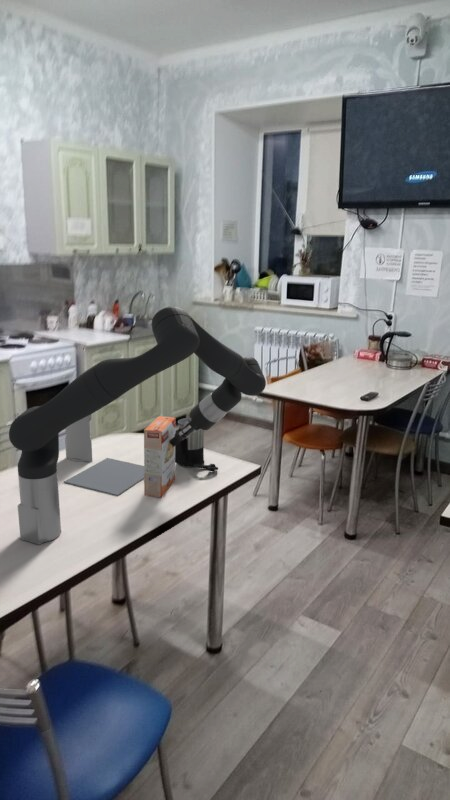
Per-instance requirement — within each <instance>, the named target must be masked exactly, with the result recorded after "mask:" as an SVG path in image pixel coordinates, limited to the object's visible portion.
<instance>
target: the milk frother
mask: <svg viewBox="0 0 450 800" xmlns="http://www.w3.org/2000/svg"><path fill="white" fill-rule="evenodd" d="M190 419H191V417H185V418H184V417H183V418H181V419H178V420H177V423H178V429H180V428H181V427H182V426H183V425H184V424H185V422H187V421H188V420H190ZM178 429H176V432H177V431H178ZM204 440H205V430H202V429H200V430H198V431H196V432H195V433H194V434H192V435H191V436H189V437H188V438H186V439H184V440H183V441H181V442H180V443H178V444H177V445H176V446H175V464H178V465H179V466H181V467H185V468H197V469H204V470H206V471H209V472H210V471H212V472H213V473H214V472H215V471H218V470H219V467H218V466H217V465H216V464H215V463H209V464H205V460H204V459H205V458H204V457H205V455H204V448H205V447H204V443H205V441H204Z"/></svg>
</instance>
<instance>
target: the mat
mask: <svg viewBox="0 0 450 800" xmlns="http://www.w3.org/2000/svg"><path fill="white" fill-rule="evenodd" d="M142 481H144V465H142V464H137V463H132V462H127V461H124V460H120V459H115V458H109V457H105V458H104V459H103V460H100V461H99V462H97V463H96V464H93V465H91V466H89V467H88V468H87V469H84V470H82V471H81V472H78V473H77V474H75V475H73V476H72V477H70V478H68V479H66V480H64V481H63V483H64V484H67V485H72V486H77V487H80V488H84V489H88V490H91V491H96V492H99V493H103V494H107V495H112V496H115V497H118V496H121V495H122V494H123V493H125V492H127V491H128V490H129V489H131V488H133V487H134V486H135V485H137V484H138V483H140V482H142Z"/></svg>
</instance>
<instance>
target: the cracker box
mask: <svg viewBox="0 0 450 800" xmlns="http://www.w3.org/2000/svg"><path fill="white" fill-rule="evenodd" d="M176 420H177V418H176V417H172V416H162V415H160V416H159V415H158V417H156V418H155V419H154V420H153V421H152V422H151V423H150V424H148V426H147V427H146V428H144V430H143V456H144V457H143V458H144V459H143V463H144V464H143V466H144V479H143V481H144V482H143V486H144V487H143V490H144V491H143V493H144V494H143V495H144V496H146V497H155V498H163V496H164V495H165V494H166V492H167V491H168V489H169V488H170V487H171V485H172V484H173V483H174V481H175V479H176V463H175V446H174V447H173V446H172V445H171V443H170V440H171V439H172V438H173V437H175V433H176V430H177V429H176V426H177V425H176V424H177V423H176Z"/></svg>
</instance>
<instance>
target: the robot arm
mask: <svg viewBox="0 0 450 800" xmlns="http://www.w3.org/2000/svg"><path fill="white" fill-rule="evenodd" d="M151 330H152V334H153V337H154V338H155V341H156V344H155V345H154V346H153V347H151V348H150V349H148V350H146V351H145V352H143V353H141V354H139V355H136V356H134V357H123V358H121V357H119V358H116V357H115V358H107V359H104V360H102V361H100V362H98V363H95V364H94V365H93V366H91V367H90V368H88V369H87V370H85V371H84V372H82V373H81V374H80V375H79V376H77V377H76V378H74V380H72V381H71V382H70V383H69V384H67V385H66V386H65V387H64V388H63V389H62V390H61V391H60V392H59V393H57V394H56V395H55V396H54V397H53V398H51V399H50V400H49V401H47V402H45V403H44V404H42V405H39V406H38V405H37V406H32V407H29V408H27V409H26V410H25V411H24V412H21V414H20V415H18V416H17V417H15V418H14V420H13V421H12V423H11V424H10V427H9V430H8V438H9V442H10V444H11V445H12V446H13V447H14V448H16V449H17V450H19V451H21V455H20V458H19V460H18V463H17V475H18V488H19V489H18V491H19V501H20V503H19V504H18V505H17V512H18V513H17V514H18V516H17V517H18V524H19V536H20V537H19V538H20V540H22V541H25V542H29V543H32V544H36V545H41V544H43V543H46V542H51V541H53V540H55V539H57V538H58V537H60V535H61V534H62V525H61V524H62V523H61V511H60V510H61V509H60V494H59V492H60V491H59V478H58V461H59V457H60V442H59V440H60V439H59V437H60V436H59V434H60V433H61V432H63V430H64V431H65V430H66V427H68V426H70V425H71V424H73V423H75V422H77V421H79V420H81V419H83V418H85V417H87V416H88V415H90V414H91V415H93V414H94V413H96V412H97V411H99V410H101V409H103V408H105V407H106V406H108V405H109V404H111V403H112V402H114V401H116V400H117V399H119V398H120V397H122V396H123V395H125V394H126V393H128V392H129V391H130V390H132V389H133V388H135V387H137V386H138V385H140V384H142V383H144V382H145V381H147V380H148V379H150V378H151V377H152V378H153V376H155V375H157V374H159V373H161V372H163V371H166V370H167V369H168V368H172V367H173V366H175V365H177V364H179V363H181V362H183V361H185V360H186V359H188V358H190V357H191V356H192V355H193V354H194V355H195V356H196V357H197V358H199V360H201V362H202V363H203V364H204V365H205V366H206V367H208V368H209V369H210V370H212V371H213V372H214V373H215V374H218V375H220V376H221V377H223V378H224V379H223V381H222V382H221V384H220V385H218V387H216V388H215V389H214V390H213V391H212V392H211V393H209V394H207V395H206V396H205V397H204V398H203V399H202V400H201V401H199V402H198V403H197V404H196V405H195V406H194V407H193V408H192V409H191V410H190V412H189V413H190V414H189V415H190V418H191V419H190V420H188V421H187V422H185V424H184V425H183V426H182V427H181V428H180V429H179V428H178V429H177V430H178V431H177V432H176V433H175V437H173V438H172V439H171V440H170V443H171V445H172V446H173V447H174V446H176V445H177V444H178V443H180V442H181V441H183V440H184V439H186V438H188V437H189V436H191V435H192V434H194V433H195V432H196V431H198V430H200V429H202V430H204V431H208V430H209V429H211V428H212V427H213V426H214V425H216V424H217V423H218V422H219V421H220V420H222V419H223V418H224V417H225V416H226V415H227V414H228V413H229V412H230V410H232V409H233V408H235V407H236V406H237V405H238V404H239V403H240V402H241V400H242V398H243V397H242V396H243V395H246V396H258V395H260V394H261V393H263V391H264V390H265V388H266V384H267V382H266V378H265V375H264V373H263V371H262V369H261V365H260V363H259V362H258V361H257V359H256V358H255V357H252V356H246V357H243V356H242V355H241V354H239V353H238V352H236V351H234V350H233V349H232V348H230V347H228V346H227V345H225V344H223V343H222V342H221V341H219V340H218V339H217V338H216V337H214V336H213V335H212V334H210V333H209V332H208V331H207V330H205V329H204V328H203V327H202V326H201V325H200V324H199V323H197V321H195V319H194V318H193V317H192V316H191V315H190V314H189V313H188V312H187V311H185V310H184V309H182V308H181V307H178V306H167V307H163V308H162V309H159V310H158V311H157V312H156V313H155V314H154V315H153V317H152V320H151ZM242 394H243V395H242Z"/></svg>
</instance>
